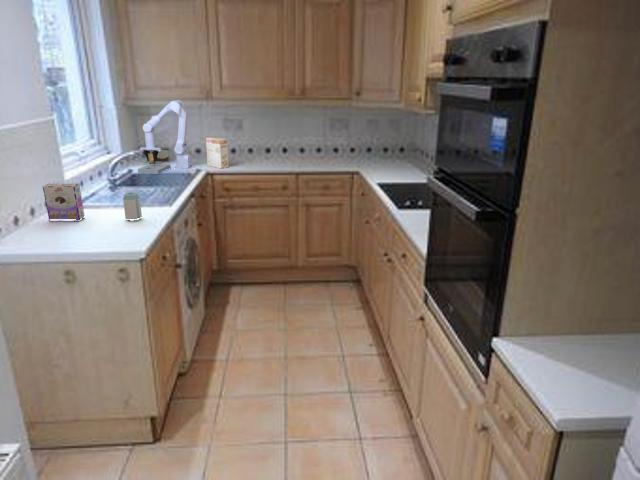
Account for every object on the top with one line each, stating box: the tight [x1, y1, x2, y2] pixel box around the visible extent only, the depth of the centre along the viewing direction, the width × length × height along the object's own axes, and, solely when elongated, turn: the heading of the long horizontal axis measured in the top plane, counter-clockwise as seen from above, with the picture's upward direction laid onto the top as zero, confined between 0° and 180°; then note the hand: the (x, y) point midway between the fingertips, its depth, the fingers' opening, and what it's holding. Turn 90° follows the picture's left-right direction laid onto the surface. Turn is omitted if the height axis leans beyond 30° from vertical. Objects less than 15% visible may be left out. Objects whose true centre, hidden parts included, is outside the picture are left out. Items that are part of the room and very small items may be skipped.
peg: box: [148, 152, 156, 165], centre depth 335 cm, size 4×4×9 cm
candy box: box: [42, 182, 85, 220], centre depth 217 cm, size 14×6×16 cm, turn 92°
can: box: [122, 192, 143, 220], centre depth 219 cm, size 7×7×12 cm
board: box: [137, 163, 171, 175], centre depth 322 cm, size 14×18×2 cm
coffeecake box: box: [205, 136, 229, 169], centre depth 335 cm, size 15×7×20 cm, turn 51°
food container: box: [155, 146, 171, 163], centre depth 353 cm, size 12×6×10 cm, turn 84°
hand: (151, 161), depth 335 cm, fingers closed on peg, 4 cm apart
